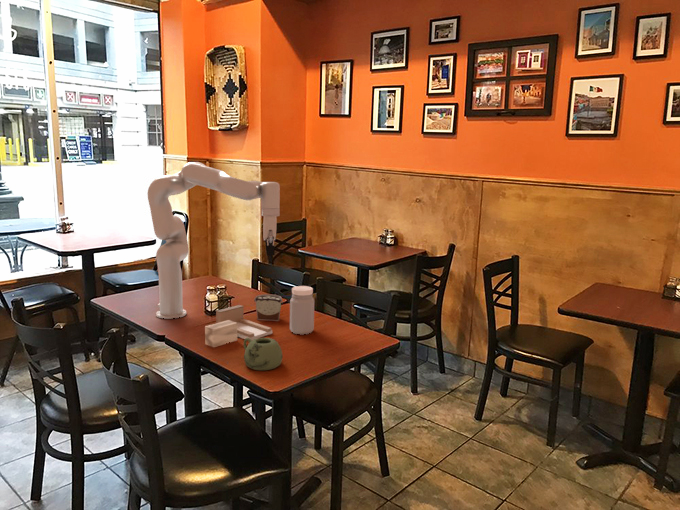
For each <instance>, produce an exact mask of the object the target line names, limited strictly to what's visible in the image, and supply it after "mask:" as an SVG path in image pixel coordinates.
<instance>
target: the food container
mask: <svg viewBox="0 0 680 510" xmlns="http://www.w3.org/2000/svg"><path fill="white" fill-rule="evenodd" d="M253 299H254V300H253V302H255V308H256V309H255V310H256V319H257V321H274V322H279V321H280V316H281V309H282V308H281V306H282V304H283V303H284V302H283V298H282V296H281V295H278V294H271V293H270V294H269V293H267V294H259V295H256V296H255V297H254V298H253Z"/></svg>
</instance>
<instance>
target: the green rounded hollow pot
mask: <svg viewBox="0 0 680 510" xmlns="http://www.w3.org/2000/svg"><path fill="white" fill-rule="evenodd" d="M247 342H248V345H247ZM242 344H243V348H244V350H245V351H244V355H243V359H244V363H245V366H247V367H248V368H250V369H251V370H255V371H271V370H275V369H276V368H278V367H279V366H281V364H282V361H283V352H282V347H281V346H280V344H279V342H278V341H277V340H276V339H274V338H271V337H260V338H257V339H254V340H251V339H250V338H246V339H244V340H243V343H242Z"/></svg>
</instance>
